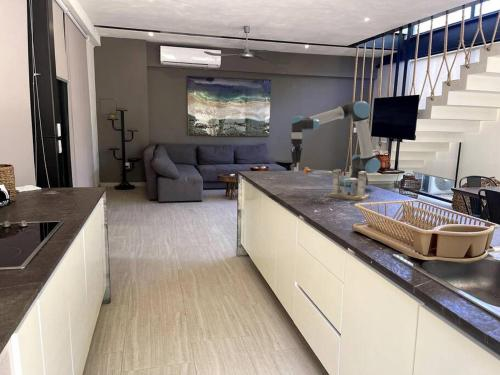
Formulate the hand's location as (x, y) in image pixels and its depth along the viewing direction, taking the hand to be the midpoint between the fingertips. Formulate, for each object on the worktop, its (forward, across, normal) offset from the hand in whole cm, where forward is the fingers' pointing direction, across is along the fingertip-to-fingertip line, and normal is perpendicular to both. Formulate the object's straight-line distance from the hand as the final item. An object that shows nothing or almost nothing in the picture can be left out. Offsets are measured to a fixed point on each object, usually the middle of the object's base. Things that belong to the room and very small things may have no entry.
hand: (296, 171), depth 269 cm
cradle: (+14, 0, +39) cm, 42 cm away
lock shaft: (+1, 0, +19) cm, 19 cm away
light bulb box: (+13, 0, +39) cm, 41 cm away
